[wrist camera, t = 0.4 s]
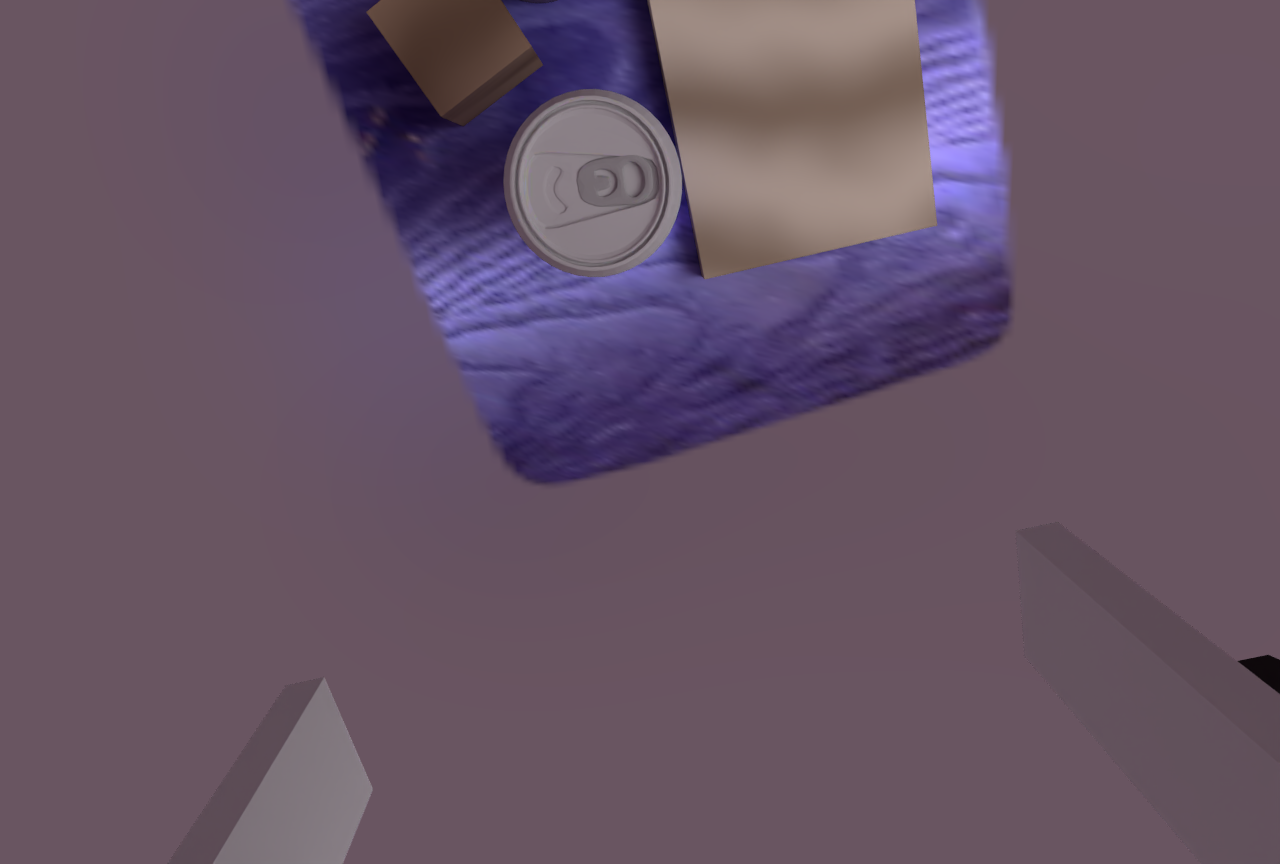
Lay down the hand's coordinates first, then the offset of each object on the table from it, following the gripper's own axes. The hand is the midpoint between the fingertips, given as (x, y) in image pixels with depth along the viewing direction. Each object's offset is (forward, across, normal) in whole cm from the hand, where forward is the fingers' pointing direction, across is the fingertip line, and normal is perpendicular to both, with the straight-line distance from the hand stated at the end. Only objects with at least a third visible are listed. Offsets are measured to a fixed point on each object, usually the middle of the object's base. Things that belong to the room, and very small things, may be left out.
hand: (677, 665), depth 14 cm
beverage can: (+25, 0, +8) cm, 26 cm away
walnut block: (+25, -4, +16) cm, 30 cm away
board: (+25, +9, +10) cm, 29 cm away
